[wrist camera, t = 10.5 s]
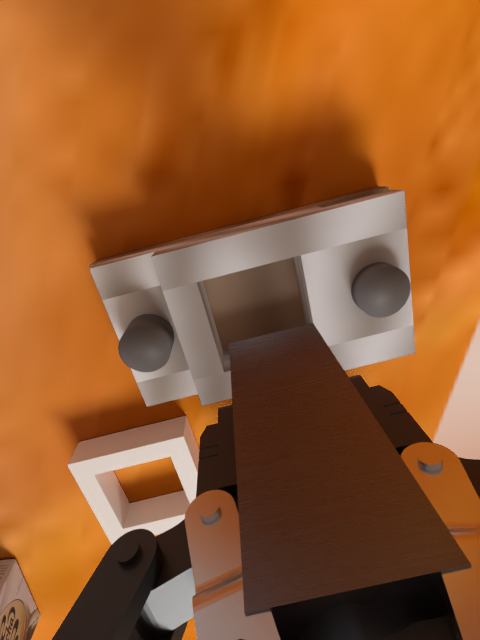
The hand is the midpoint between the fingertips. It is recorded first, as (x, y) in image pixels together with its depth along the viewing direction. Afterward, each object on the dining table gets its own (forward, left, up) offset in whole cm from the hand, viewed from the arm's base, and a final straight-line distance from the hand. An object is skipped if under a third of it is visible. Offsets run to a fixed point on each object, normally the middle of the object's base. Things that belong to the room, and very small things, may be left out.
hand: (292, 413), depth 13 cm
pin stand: (-12, -13, -14) cm, 22 cm away
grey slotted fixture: (0, 0, -14) cm, 14 cm away
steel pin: (0, 0, -3) cm, 3 cm away
